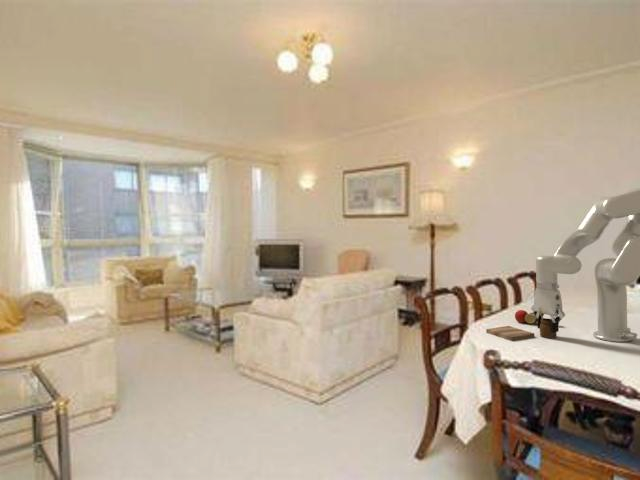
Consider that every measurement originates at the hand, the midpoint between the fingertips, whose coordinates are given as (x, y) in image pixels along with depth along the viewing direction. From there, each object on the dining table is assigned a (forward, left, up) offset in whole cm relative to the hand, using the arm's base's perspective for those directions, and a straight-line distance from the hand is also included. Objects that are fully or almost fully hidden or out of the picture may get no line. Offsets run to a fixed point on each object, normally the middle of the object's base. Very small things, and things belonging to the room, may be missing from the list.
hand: (547, 329), depth 165 cm
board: (+9, +11, -3) cm, 15 cm away
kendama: (+17, -13, -3) cm, 22 cm away
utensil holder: (0, 0, -3) cm, 3 cm away
